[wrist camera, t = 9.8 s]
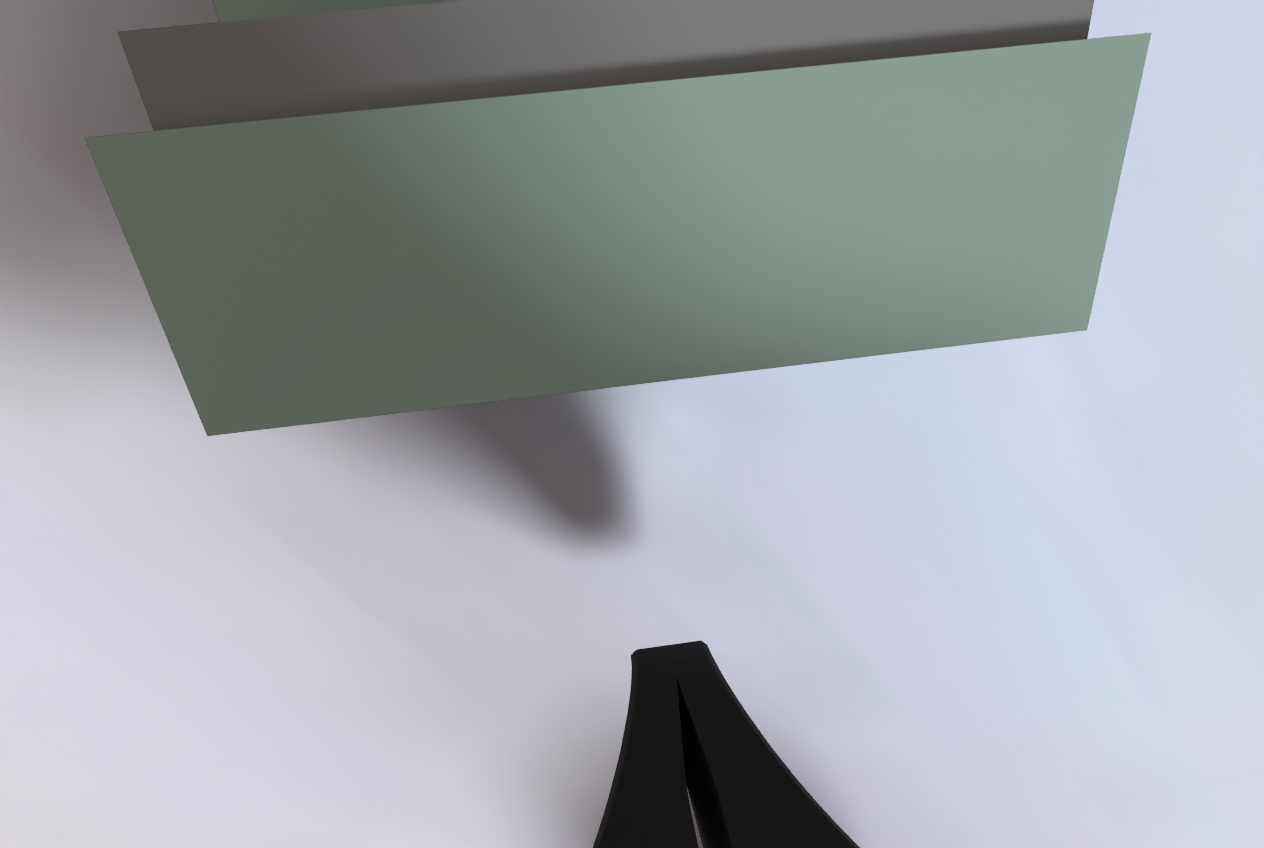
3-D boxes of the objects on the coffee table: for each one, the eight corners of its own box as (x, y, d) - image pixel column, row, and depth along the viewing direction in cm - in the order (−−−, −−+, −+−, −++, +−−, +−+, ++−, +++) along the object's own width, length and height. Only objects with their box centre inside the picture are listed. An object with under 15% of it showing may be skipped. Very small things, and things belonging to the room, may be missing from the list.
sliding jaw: (964, -8, 9) (1173, -69, 6) (934, 265, 11) (1087, 330, 8) (227, 61, 9) (42, 33, 6) (314, 336, 10) (206, 436, 7)
